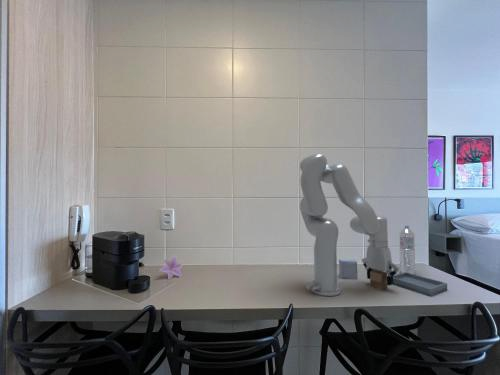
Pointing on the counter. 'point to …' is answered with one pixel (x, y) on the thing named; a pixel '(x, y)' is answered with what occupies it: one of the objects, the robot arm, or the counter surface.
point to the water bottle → (407, 251)
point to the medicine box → (348, 268)
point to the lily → (171, 267)
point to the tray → (419, 284)
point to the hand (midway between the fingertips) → (379, 281)
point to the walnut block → (378, 279)
